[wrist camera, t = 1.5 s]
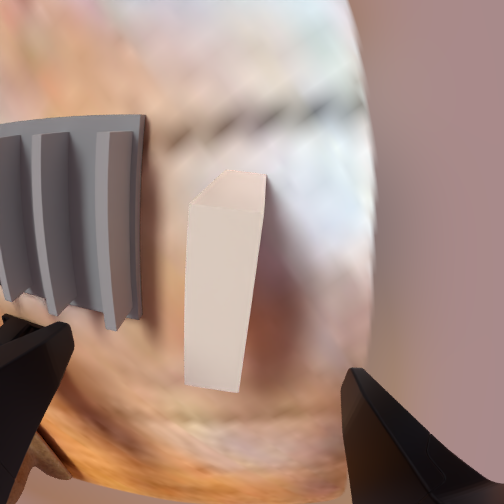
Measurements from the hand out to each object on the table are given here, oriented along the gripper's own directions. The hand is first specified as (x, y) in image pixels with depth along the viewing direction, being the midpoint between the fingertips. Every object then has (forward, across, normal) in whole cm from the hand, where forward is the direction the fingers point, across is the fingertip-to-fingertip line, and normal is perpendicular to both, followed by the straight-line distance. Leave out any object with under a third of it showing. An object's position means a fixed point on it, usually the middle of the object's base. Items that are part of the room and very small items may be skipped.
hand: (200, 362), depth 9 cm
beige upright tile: (+12, 0, 0) cm, 12 cm away
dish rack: (+12, +14, 0) cm, 18 cm away
